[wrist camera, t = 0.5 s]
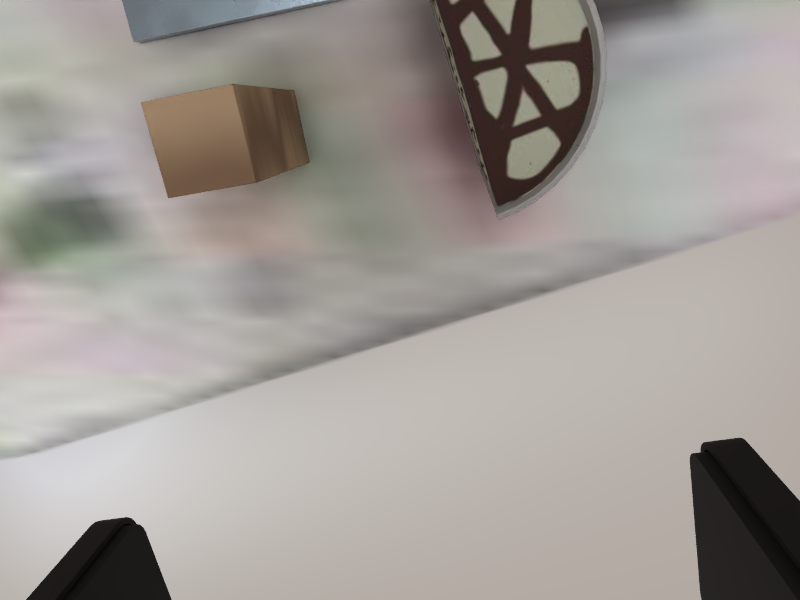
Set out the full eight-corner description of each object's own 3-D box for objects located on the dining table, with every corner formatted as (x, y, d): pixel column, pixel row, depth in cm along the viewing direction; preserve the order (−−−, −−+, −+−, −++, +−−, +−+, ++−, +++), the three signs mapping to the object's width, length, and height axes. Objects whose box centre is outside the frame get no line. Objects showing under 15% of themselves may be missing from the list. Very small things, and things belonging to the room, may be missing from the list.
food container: (594, 161, 34) (650, 181, 24) (487, 195, 35) (501, 228, 25) (536, -76, 30) (574, -159, 21) (420, -30, 32) (407, -89, 22)
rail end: (226, 103, 34) (140, 102, 25) (294, 90, 34) (232, 84, 24) (244, 173, 36) (168, 198, 26) (309, 162, 35) (256, 182, 26)
